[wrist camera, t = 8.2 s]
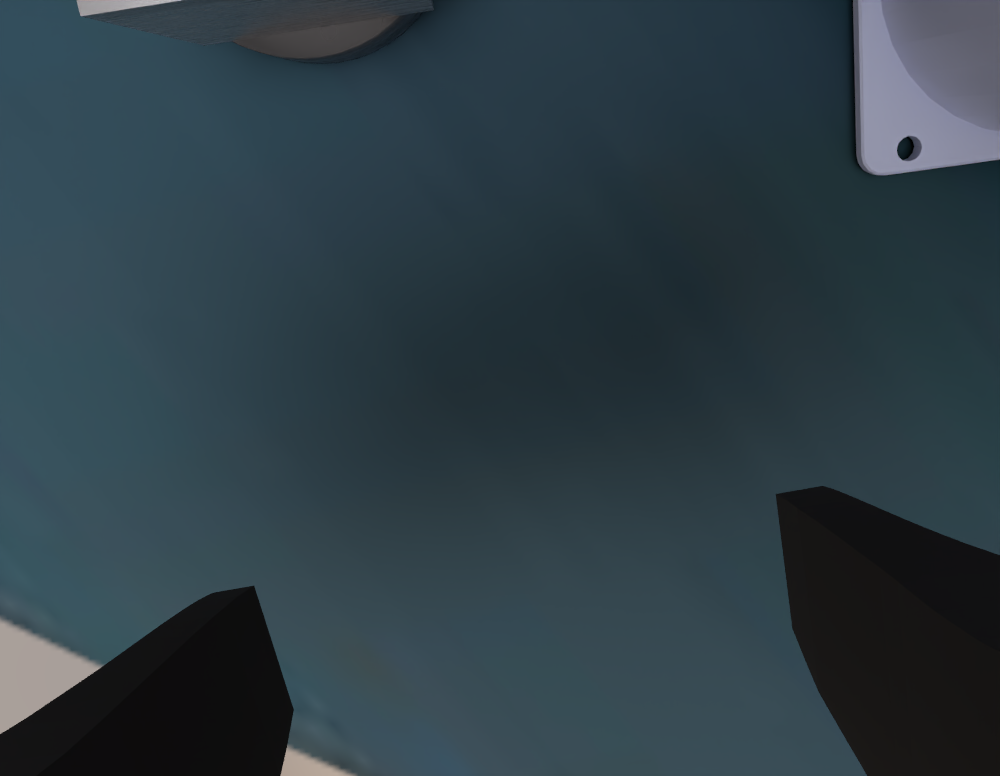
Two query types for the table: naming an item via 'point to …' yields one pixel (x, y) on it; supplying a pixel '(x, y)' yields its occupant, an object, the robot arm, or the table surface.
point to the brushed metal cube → (240, 16)
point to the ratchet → (333, 40)
